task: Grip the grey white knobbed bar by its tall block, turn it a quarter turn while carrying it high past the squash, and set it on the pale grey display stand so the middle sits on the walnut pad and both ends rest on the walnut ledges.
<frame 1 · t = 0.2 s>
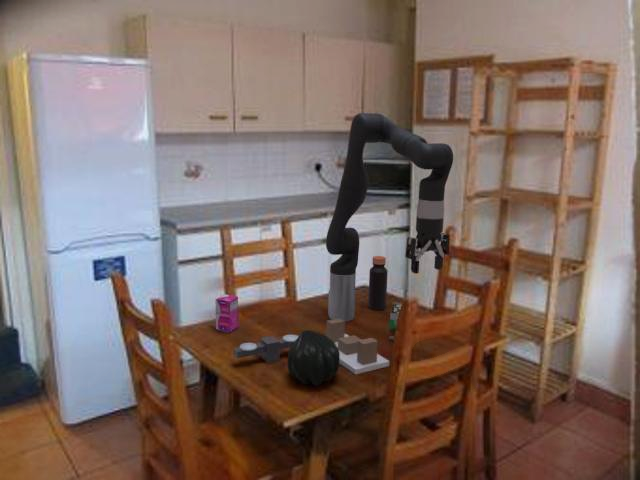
hand: (426, 271, 161), 29 cm above the table, tool pointing down, fingers open, 8 cm apart
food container: (399, 336, 189), on the table
supplement box: (227, 329, 192), on the table
grey white knobbed bar: (269, 358, 170), on the table
display stand: (350, 354, 173), on the table
squash: (313, 379, 157), on the table
bottle: (376, 308, 217), on the table
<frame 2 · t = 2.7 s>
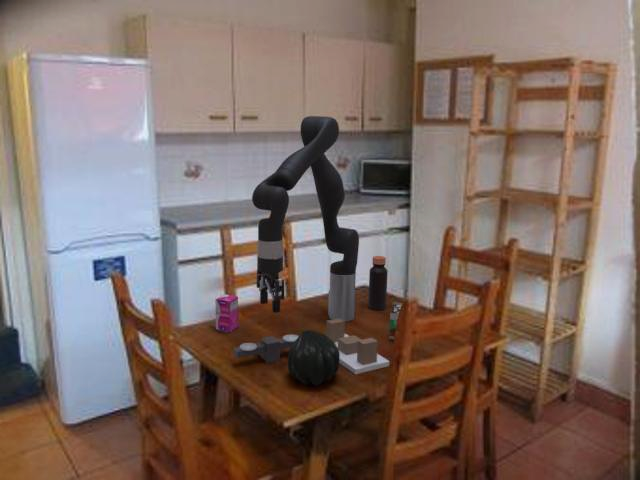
hand: (270, 307, 166), 16 cm above the table, tool pointing down, fingers open, 8 cm apart
nothing on the table moved.
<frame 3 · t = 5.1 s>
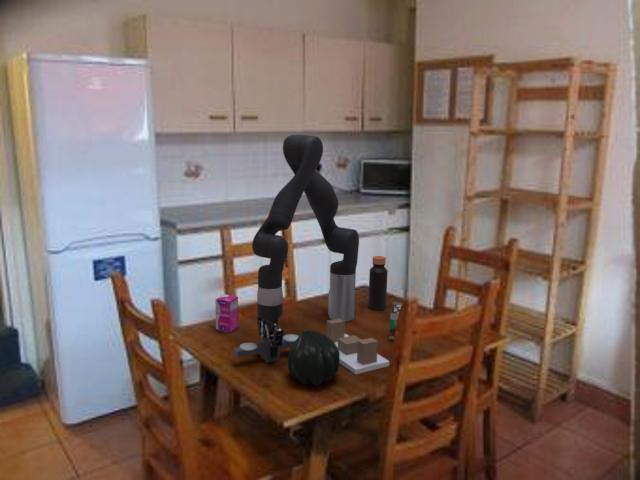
hand: (269, 353, 169), 1 cm above the table, tool pointing down, fingers closed on grey white knobbed bar, 5 cm apart
grey white knobbed bar: (269, 358, 170), on the table, touching gripper
everything else where it was.
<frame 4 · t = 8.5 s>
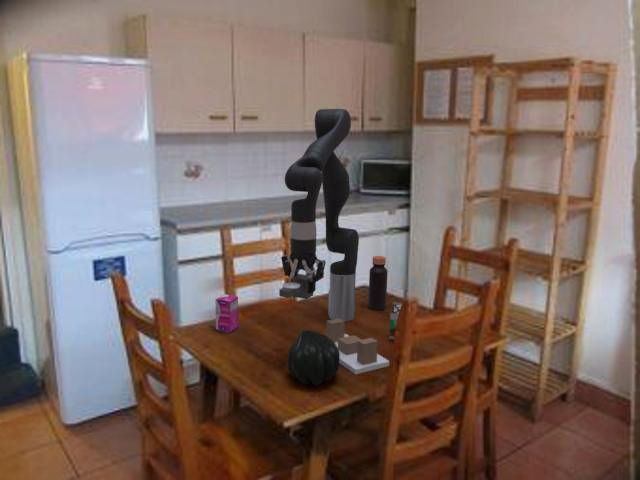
hand: (303, 291, 167), 21 cm above the table, tool pointing down, fingers closed on grey white knobbed bar, 5 cm apart
grey white knobbed bar: (302, 296, 167), point 19 cm above the table, touching gripper
everything else where it was.
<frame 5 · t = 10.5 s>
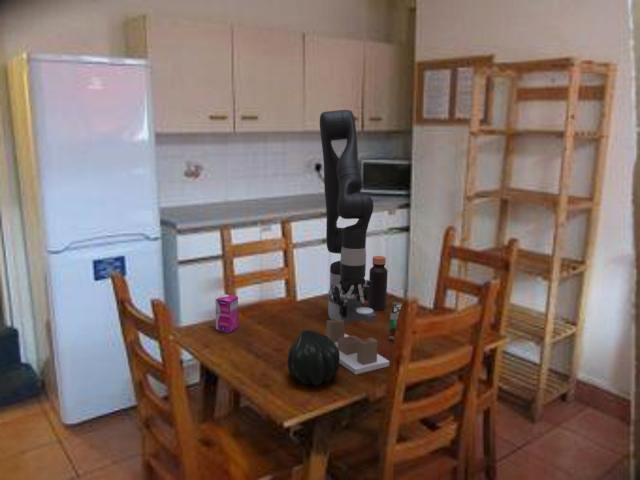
hand: (351, 315, 170), 13 cm above the table, tool pointing down, fingers closed on grey white knobbed bar, 5 cm apart
grey white knobbed bar: (351, 319, 171), point 11 cm above the table, touching gripper
everything else where it was.
when the fingers open (8 cm above the table, at t = 12.0 s): grey white knobbed bar drops 1 cm, resting on display stand.
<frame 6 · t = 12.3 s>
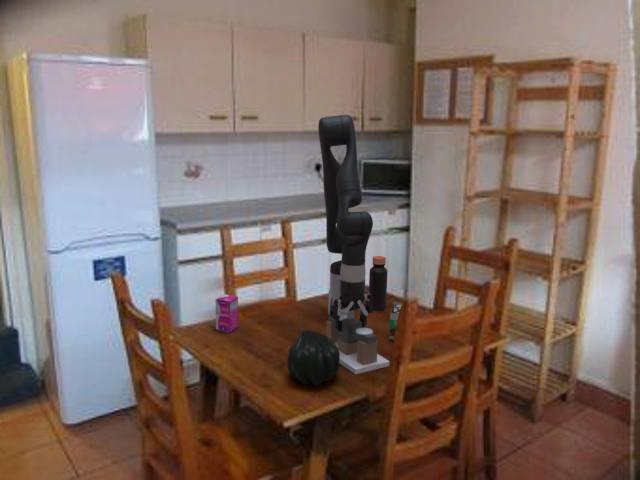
hand: (351, 328, 171), 9 cm above the table, tool pointing down, fingers open, 8 cm apart
grey white knobbed bar: (350, 339, 172), point 5 cm above the table, touching display stand
everything else where it was.
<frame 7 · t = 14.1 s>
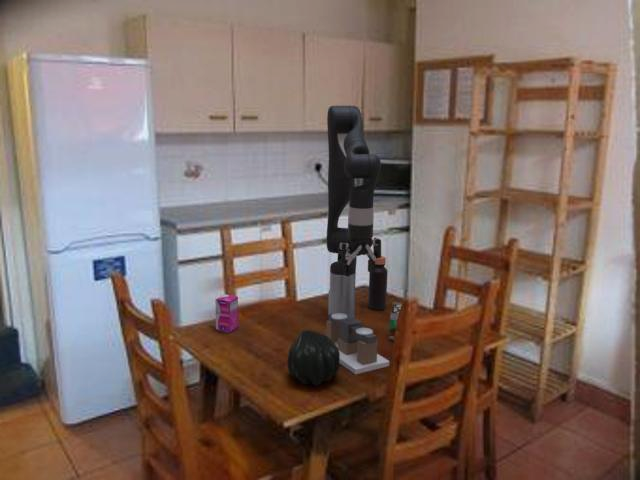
hand: (359, 273, 171), 25 cm above the table, tool pointing down, fingers open, 8 cm apart
nothing on the table moved.
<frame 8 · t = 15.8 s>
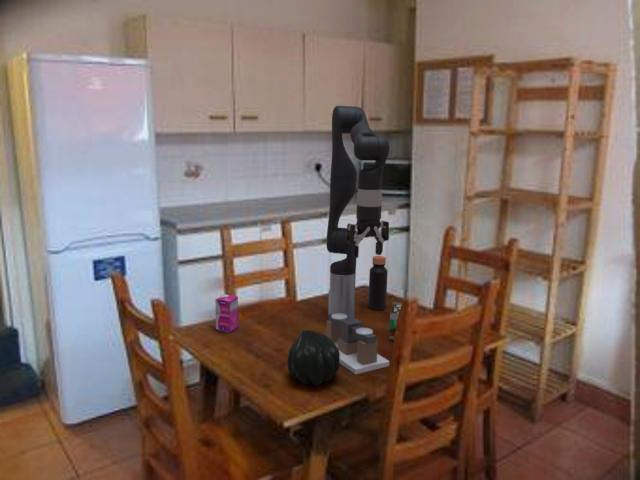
hand: (367, 255, 173), 30 cm above the table, tool pointing down, fingers open, 8 cm apart
nothing on the table moved.
at the end: grey white knobbed bar 0.0 cm off-centre on the display stand, point 5.0 cm above the display stand's base; grey white knobbed bar tilted 0°; the gripper is holding nothing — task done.
